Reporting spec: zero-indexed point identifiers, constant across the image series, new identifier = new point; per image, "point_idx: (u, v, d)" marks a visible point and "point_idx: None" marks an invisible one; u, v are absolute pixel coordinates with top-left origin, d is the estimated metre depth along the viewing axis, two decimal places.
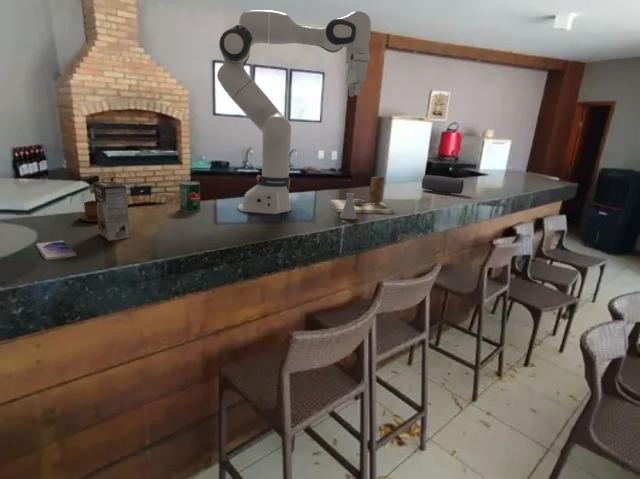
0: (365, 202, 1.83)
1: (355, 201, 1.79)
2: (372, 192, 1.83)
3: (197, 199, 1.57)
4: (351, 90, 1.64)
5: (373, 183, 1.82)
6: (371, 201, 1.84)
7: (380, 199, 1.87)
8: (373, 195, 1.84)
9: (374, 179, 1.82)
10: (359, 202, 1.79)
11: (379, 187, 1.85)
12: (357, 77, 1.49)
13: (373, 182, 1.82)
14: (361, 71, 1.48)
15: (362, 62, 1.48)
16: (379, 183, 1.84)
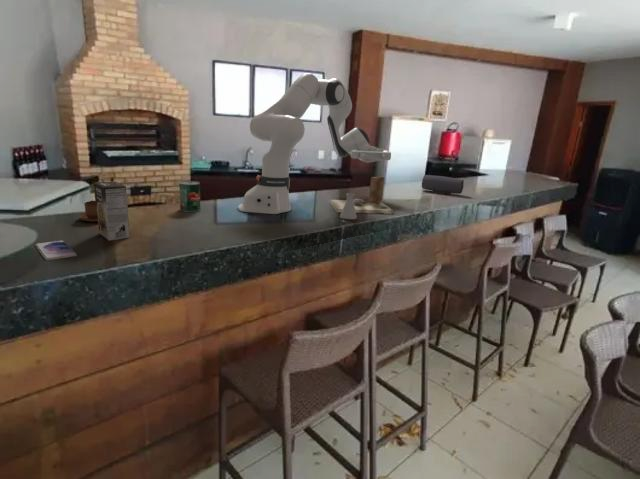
0: (365, 202, 1.83)
1: (355, 201, 1.79)
2: (372, 192, 1.83)
3: (197, 199, 1.57)
4: None
5: (373, 183, 1.82)
6: (371, 201, 1.84)
7: (380, 199, 1.87)
8: (373, 195, 1.84)
9: (374, 179, 1.82)
10: (359, 202, 1.79)
11: (379, 187, 1.85)
12: (390, 153, 1.98)
13: (373, 182, 1.82)
14: None
15: None
16: (379, 183, 1.84)
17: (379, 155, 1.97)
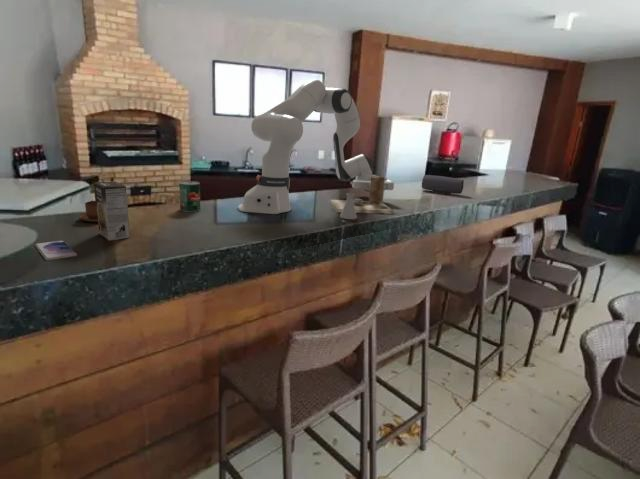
0: (365, 202, 1.83)
1: (355, 201, 1.79)
2: (372, 192, 1.83)
3: (197, 199, 1.57)
4: None
5: (373, 183, 1.82)
6: (371, 201, 1.84)
7: (380, 199, 1.87)
8: (373, 195, 1.84)
9: (374, 179, 1.81)
10: (359, 202, 1.79)
11: (379, 187, 1.84)
12: (393, 183, 1.92)
13: (373, 182, 1.82)
14: None
15: None
16: (379, 183, 1.84)
17: None
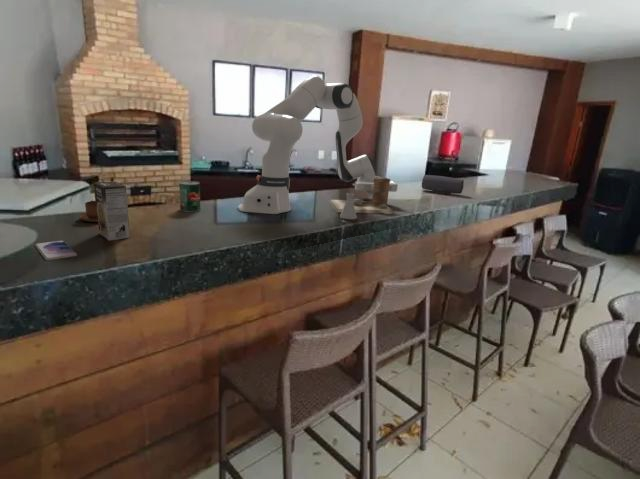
0: (366, 203, 1.81)
1: (354, 201, 1.80)
2: (375, 193, 1.80)
3: (197, 199, 1.57)
4: None
5: (376, 184, 1.79)
6: (374, 202, 1.82)
7: (385, 201, 1.82)
8: (376, 196, 1.81)
9: (377, 180, 1.79)
10: (357, 202, 1.79)
11: (383, 189, 1.80)
12: None
13: (376, 183, 1.79)
14: None
15: None
16: (383, 185, 1.80)
17: None
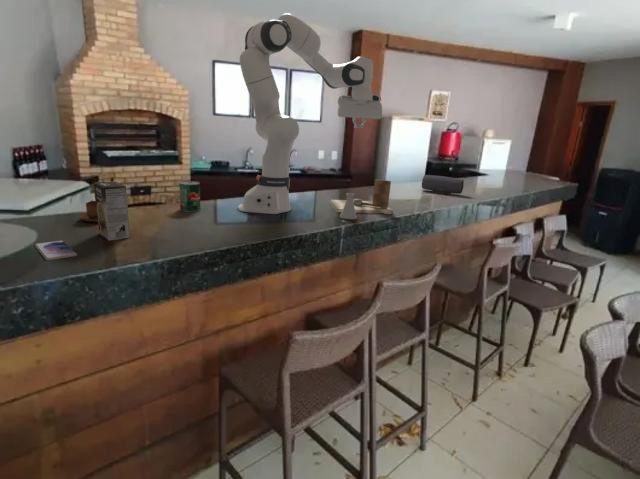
0: (366, 204, 1.79)
1: None
2: (374, 195, 1.76)
3: (197, 199, 1.57)
4: None
5: (375, 185, 1.75)
6: (373, 204, 1.78)
7: (385, 204, 1.76)
8: (376, 198, 1.77)
9: (377, 181, 1.75)
10: (355, 202, 1.79)
11: (384, 191, 1.75)
12: (381, 116, 1.80)
13: (375, 184, 1.75)
14: None
15: None
16: (383, 187, 1.74)
17: None
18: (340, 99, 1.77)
